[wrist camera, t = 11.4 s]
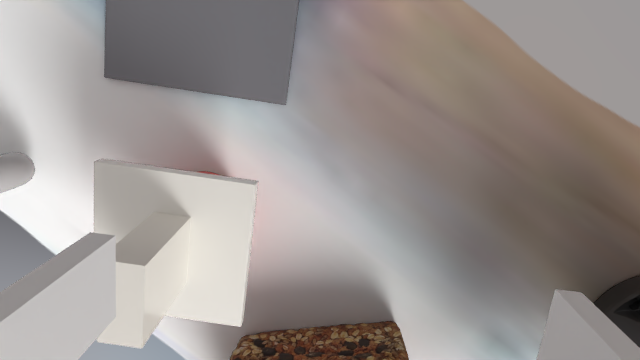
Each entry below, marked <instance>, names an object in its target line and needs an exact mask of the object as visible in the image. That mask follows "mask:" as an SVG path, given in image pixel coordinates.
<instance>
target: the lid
mask: <svg viewBox="0 0 640 360" xmlns="http://www.w3.org/2000/svg"><path fill="white" fill-rule="evenodd" d="M257 189H258V181H254V180H247V179H240V178H233V177H227V176H220V175H213V174H206V173H199V172H192V171H185V170H178V169H171V168H164V167H157V166H150V165H143V164H136V163H130V162H123V161H116V160H109V159H99V160H97V161H95V162H94V233H99V234H108V235H116V318H115V319H114V320H113V321H112V322H111V323H110V324H109V325H108V326H107V328H106V329H105V330H104V331H103V332H102V333H101V334H100V335H99V337H98V338H97V342H101V343H107V344H114V345H121V346H129V347H135V348H143V346H144V345H145V343H146V342H147V340H148V339H149V337H150V336H151V334H152V333H153V332H154V330H155V329H156V327H157V326H158V324H159V323H160V321H161V320H162V318H163V317H164V316H168V317H175V318H182V319H189V320H196V321H203V322H209V323H216V324H223V325H230V326H237V327H241V325H242V322H243V320H244V311H245V302H246V292H247V283H248V273H249V264H250V255H251V245H252V236H253V226H254V217H255V207H256V198H257Z"/></svg>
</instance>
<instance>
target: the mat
mask: <svg viewBox="0 0 640 360" xmlns="http://www.w3.org/2000/svg"><path fill="white" fill-rule="evenodd" d="M298 5H299V0H106V20H105V69H104V77H106V78H112V79H119V80H125V81H132V82H138V83H145V84H151V85H158V86H164V87H171V88H177V89H184V90H190V91H197V92H203V93H210V94H216V95H223V96H229V97H236V98H242V99H249V100H255V101H262V102H268V103H275V104H281V105H286V100H287V92H288V84H289V76H290V68H291V60H292V52H293V45H294V37H295V29H296V21H297V13H298Z"/></svg>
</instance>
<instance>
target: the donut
mask: <svg viewBox="0 0 640 360" xmlns="http://www.w3.org/2000/svg"><path fill="white" fill-rule="evenodd" d="M34 173H35V166H34V163H33V161H32V160H31V159H30V158H29V157H28V156H27V155H24V154H22V153H17V152H12V153H6V154H2V155H0V193H2V192H5V191H8V190H11V189H14V188H16V187H19V186H21V185H23V184H26V183H27V182H28V181H29V180H31V179H32V177H33V175H34Z"/></svg>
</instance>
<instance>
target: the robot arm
mask: <svg viewBox="0 0 640 360" xmlns="http://www.w3.org/2000/svg"><path fill="white" fill-rule="evenodd" d="M115 318H116V235H108V234H99V233H91V232H90V233H89V234H87V235H86V236H84V237H83V238H81V239H80V240H78V241H77V242H75V243H74V244H72V245H71V246H69V247H68V248H66V249H65V250H63V251H62V252H60V253H59V254H57V255H56V256H54V257H53V258H51V259H50V260H48V261H47V262H45V263H44V264H42V265H41V266H39V267H38V268H36V269H35V270H33V271H32V272H30V273H29V274H27V275H26V276H25V277H23V278H21V279H20V280H18V281H17V282H15V283H14V284H12V285H11V286H9V287H8V288H7V289H5V290H3V291H2V292H0V360H78V359H79V357H80V356H81V355H82V354H83V353H84V352H85V351H86V350H87V349H88V348H89V346H90V345H91V344H92V343H93V342H94V341H95V340H96V339H97V338H98V337H99V335H100V334H101V333H102V332H103V331H104V330H105V329H106V328H107V326H108V325H109V324H110V323H111V322H112V321H113V320H114V319H115ZM536 360H640V276H638V277H634V278H631V279H629V280H626V281H624V282H622V283H620V284H618V285H616V286H614V287H613V288H611V289H610V290H608V291H607V292H606V293H604V294H603V295H602V296H601V297H600V298H599V299H598V300H597V301H596V302H595V303H594V304H593V303H592V302H591V301H590V300H589V299H588V298H587V297H586V296H585V295H584V294H583V293H582V292H574V291H566V290H558V289H555V292H554V296H553V300H552V303H551V307H550V311H549V315H548V318H547V322H546V326H545V330H544V333H543V337H542V341H541V344H540V348H539V352H538V356H537V359H536Z"/></svg>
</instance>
